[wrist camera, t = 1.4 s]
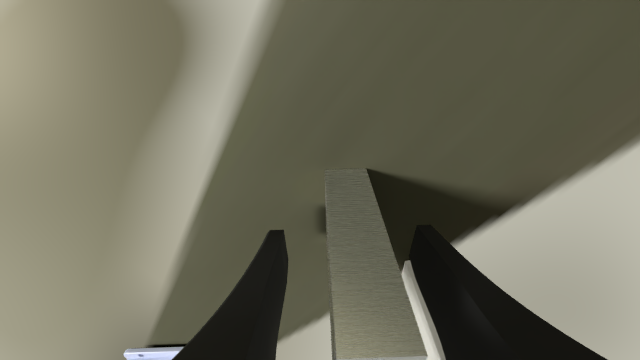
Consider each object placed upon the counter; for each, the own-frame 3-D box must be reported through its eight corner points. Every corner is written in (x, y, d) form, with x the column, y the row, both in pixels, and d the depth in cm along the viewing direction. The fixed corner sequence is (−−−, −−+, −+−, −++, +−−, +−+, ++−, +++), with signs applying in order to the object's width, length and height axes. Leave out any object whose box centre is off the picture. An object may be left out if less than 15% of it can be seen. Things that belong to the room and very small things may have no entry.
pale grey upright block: (326, 241, 15) (335, 425, 8) (324, 169, 12) (336, 358, 6) (359, 240, 15) (396, 423, 8) (365, 168, 12) (427, 356, 5)
